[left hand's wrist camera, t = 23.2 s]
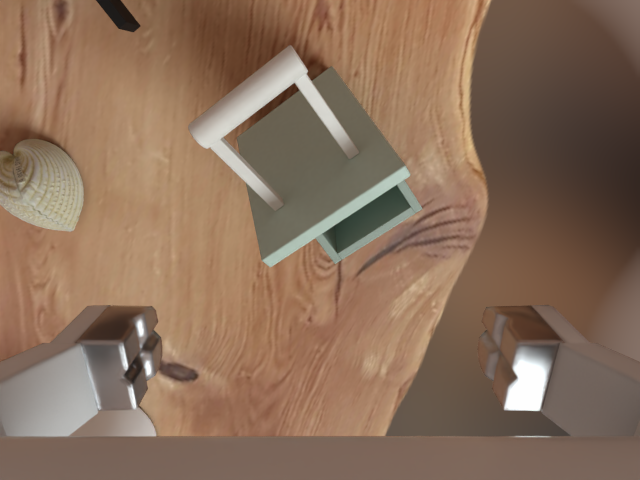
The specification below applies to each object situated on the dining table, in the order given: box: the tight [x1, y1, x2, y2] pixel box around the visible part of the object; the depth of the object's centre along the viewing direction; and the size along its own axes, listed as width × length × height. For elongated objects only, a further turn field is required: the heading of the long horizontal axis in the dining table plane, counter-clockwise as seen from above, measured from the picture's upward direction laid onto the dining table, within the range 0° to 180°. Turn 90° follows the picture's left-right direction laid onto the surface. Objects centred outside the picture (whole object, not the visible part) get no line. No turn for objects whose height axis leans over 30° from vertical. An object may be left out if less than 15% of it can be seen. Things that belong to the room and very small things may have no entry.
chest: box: [316, 180, 422, 263], centre depth 39 cm, size 14×9×9 cm
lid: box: [188, 45, 410, 267], centre depth 25 cm, size 14×9×8 cm
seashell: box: [0, 139, 84, 231], centre depth 41 cm, size 8×8×8 cm
